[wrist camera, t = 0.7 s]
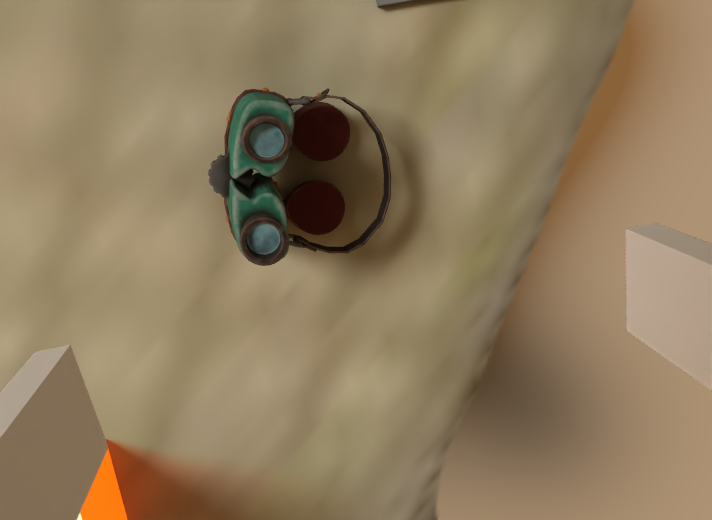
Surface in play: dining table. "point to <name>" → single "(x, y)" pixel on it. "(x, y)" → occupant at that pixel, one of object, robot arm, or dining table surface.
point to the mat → (390, 2)
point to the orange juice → (104, 496)
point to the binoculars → (268, 156)
